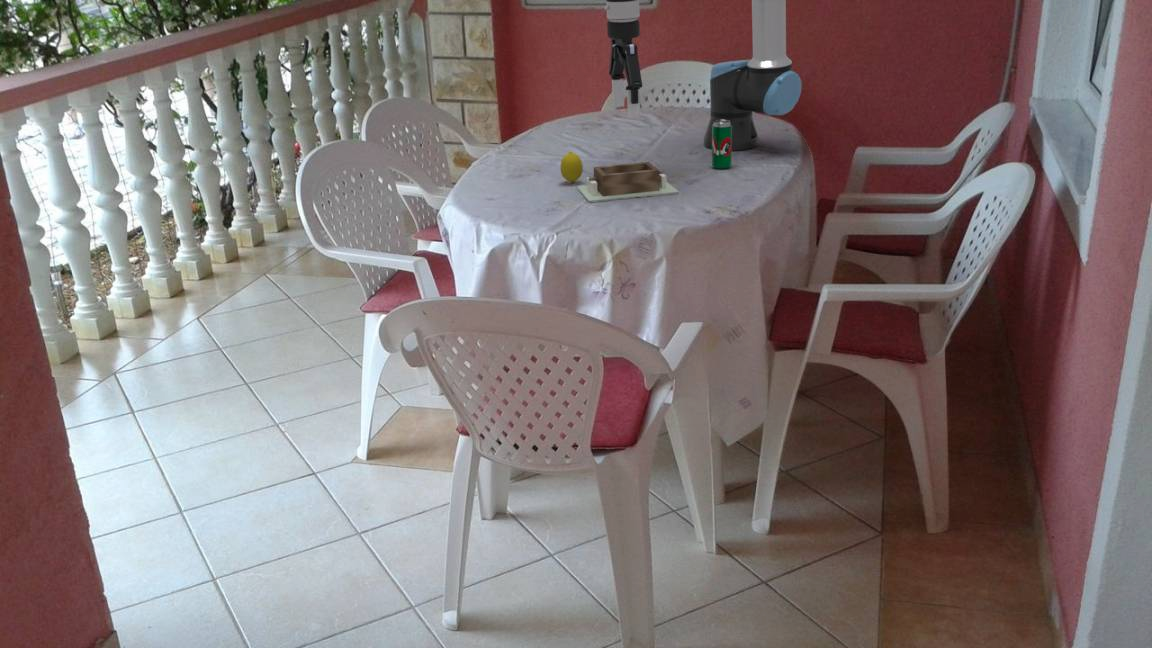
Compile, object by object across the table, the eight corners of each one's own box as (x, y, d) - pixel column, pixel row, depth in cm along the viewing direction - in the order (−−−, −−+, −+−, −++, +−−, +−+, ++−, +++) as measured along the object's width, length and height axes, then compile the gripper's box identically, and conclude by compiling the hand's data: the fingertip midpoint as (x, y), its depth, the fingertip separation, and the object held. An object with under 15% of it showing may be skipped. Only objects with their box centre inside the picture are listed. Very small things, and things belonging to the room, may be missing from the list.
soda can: (733, 165, 269) (734, 119, 264) (728, 170, 265) (728, 123, 260) (715, 164, 271) (715, 118, 266) (709, 169, 267) (709, 122, 262)
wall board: (661, 179, 259) (661, 162, 258) (678, 193, 246) (678, 176, 245) (576, 188, 255) (575, 171, 254) (589, 202, 243) (588, 185, 241)
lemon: (567, 187, 256) (565, 155, 253) (557, 182, 261) (555, 151, 258) (587, 183, 259) (585, 152, 255) (576, 179, 263) (575, 148, 260)
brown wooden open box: (649, 181, 256) (648, 161, 254) (659, 190, 248) (659, 170, 246) (594, 187, 253) (593, 167, 252) (602, 196, 245) (602, 175, 243)
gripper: (594, 15, 247) (598, 104, 256) (621, 27, 225) (625, 123, 233) (624, 13, 249) (627, 101, 257) (654, 24, 226) (656, 120, 235)
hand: (626, 112), depth 245 cm, fingers open, 13 cm apart
